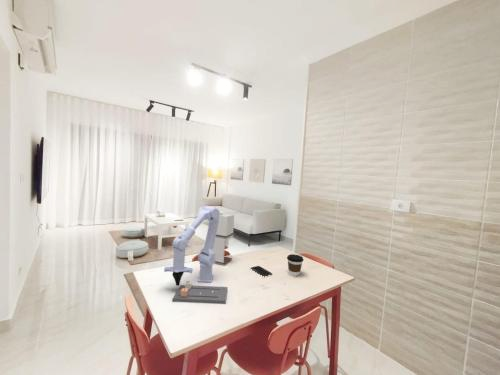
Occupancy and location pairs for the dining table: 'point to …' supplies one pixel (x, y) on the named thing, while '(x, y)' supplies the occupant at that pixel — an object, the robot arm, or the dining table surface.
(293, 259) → the coffee cup
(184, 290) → the fader terracotta
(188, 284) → the fader white
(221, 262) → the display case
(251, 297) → the dining table surface
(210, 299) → the console
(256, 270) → the phone
